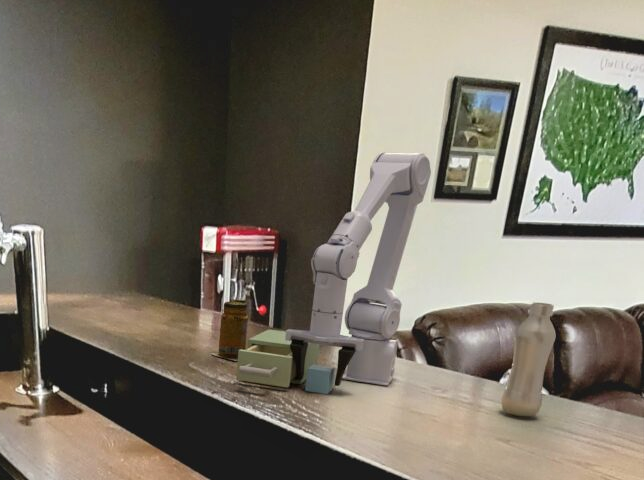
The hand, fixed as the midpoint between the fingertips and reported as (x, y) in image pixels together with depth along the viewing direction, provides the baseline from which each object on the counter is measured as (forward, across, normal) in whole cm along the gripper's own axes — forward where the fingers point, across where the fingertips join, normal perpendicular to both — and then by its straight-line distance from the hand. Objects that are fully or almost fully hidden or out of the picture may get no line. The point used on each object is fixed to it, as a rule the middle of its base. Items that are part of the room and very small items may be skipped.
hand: (318, 382), depth 139 cm
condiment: (+2, -24, +18) cm, 30 cm away
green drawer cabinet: (+2, -10, +9) cm, 14 cm away
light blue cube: (+2, 0, 0) cm, 2 cm away
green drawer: (+1, -10, -1) cm, 10 cm away
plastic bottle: (+2, +36, +4) cm, 36 cm away
